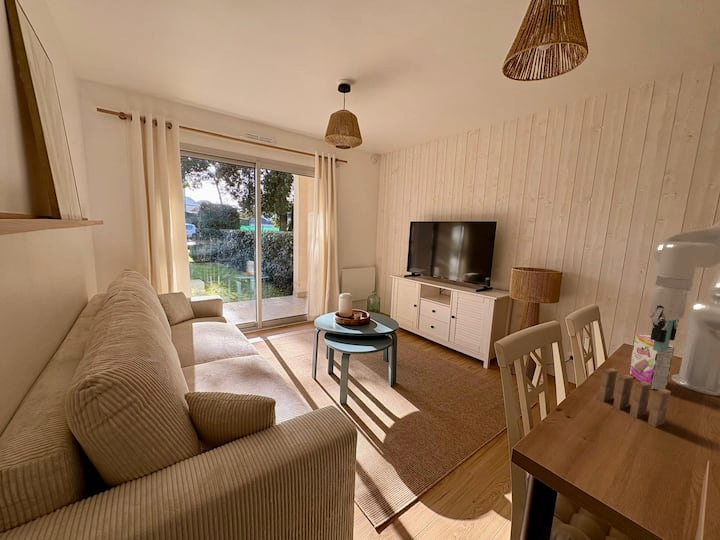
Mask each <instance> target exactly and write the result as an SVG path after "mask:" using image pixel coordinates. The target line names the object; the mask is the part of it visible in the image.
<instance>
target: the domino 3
mask: <svg viewBox="0 0 720 540" xmlns="http://www.w3.org/2000/svg"><path fill="white" fill-rule="evenodd" d="M633 389H634V390H633V394H632V395H633V396H632V400H631V406H630V409H629V416H630V417H633V418H635V419H637V418H639V417H642V415H643V416H645V415H646V414H647V413H646V412H647V409H648V403H649V397H650V393H651V390H652V389H651V383H649V382H646V381H643V382H640V381H639V382H637V383H635V384H634V388H633ZM644 414H645V415H644Z"/></svg>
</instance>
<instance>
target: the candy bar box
mask: <svg viewBox="0 0 720 540" xmlns="http://www.w3.org/2000/svg"><path fill="white" fill-rule="evenodd" d="M634 336H635V337H634V341H633V347H632V352H631V359H630V364H629V370H628V375H632V376H633V377H635V378H636V380H637V381H638V380H639V383H640V382H643V381H646V382H649V383H651V389H650V390H653V389H655V390H654V391H657V390H660V389H663V388H664V389H666V390H667V385H668V380H669V376H670V371H671V366H672V360H673V357H674V352H675V351H674V350H675V347H674V346H672V345H670V344H669V346H668V350H665V351H661V352H658V351H655V350H653V346H654V340H651V335H649V334H639V333H635V335H634ZM635 378H634V379H635Z"/></svg>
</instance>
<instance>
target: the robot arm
mask: <svg viewBox="0 0 720 540" xmlns="http://www.w3.org/2000/svg"><path fill="white" fill-rule="evenodd" d="M653 252H654V253H653V256H654V259H655V260H656V261H657V262H658V263H659V264H658V267H657V268H658V269H657V273H656V274H657V275H656V281H655V285H654V286H655V289H654V291H653V295H652V298H651V301H650V304H649V308H648V313H647V316H648V317H649V318H651V323H652V324H651V325H652V326H651V327H652V330H651V335H650V336H651V340H654V341H658V342H661V343H664V342H665V339H666V334H667V330H666V327H667V324H668V321H672V320H674V322H673V327H672V331H671V336H670V341H675V340H676V334H677V328H678V327H679V322H680V320H681V319H683V318H684V315H685V311H686V307H687V301H688V292H689V291H692V287H693V283H694V282H693V281H694V279H695V278H694V277H695V273H696V268H703V269H707V268H713V267H716V266H717V265H719V264H720V221H717V222H716V223H714V224H712V225H711V226H709V227H705V228H701V229H696V230H691V231H687V232H681V233H677V234H674V235H671V236H669V237H667V238H665V239H663V240H662V241H661V242H660V243H659V244H658V245H657V246H656V247H655V249H654V251H653ZM707 294H708V296H709V298H711V299H699V300H698V299H697V300H695V301H693V302H691V304H690V305H689V307H688V328H687V329H688V331H687V335H686V340H685V345H684V348H683V349H684V350H683V353H682V359H681V364H680V368H679V372H678V373H679V374H678V373H677V374H673V375H672V376H671V380H672V381H673V382H674V383H675V384H677V385H679V386H681V387H684V388H686V389H688V390H691V391H694V392H697V393H701V394H704V395H711V396H719V397H720V269H719V270H718V272H717V274H716V275H715V277H714V279H713V280H712V281H711V284H710V285H709V288H708V291H707ZM664 318H665V320H663V319H664ZM660 321H662V322H664V323H663V324H662V322H660Z"/></svg>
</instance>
